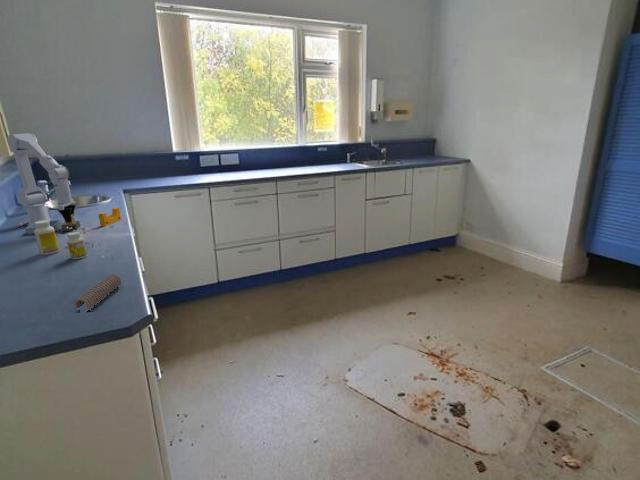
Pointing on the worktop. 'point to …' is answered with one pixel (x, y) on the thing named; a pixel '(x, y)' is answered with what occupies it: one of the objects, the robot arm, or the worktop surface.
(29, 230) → the tray
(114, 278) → the coil
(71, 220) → the orange rectangular block
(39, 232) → the supplement bottle
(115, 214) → the pipe clamp
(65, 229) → the block
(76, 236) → the supplement bottle
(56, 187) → the robot arm
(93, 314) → the worktop surface
